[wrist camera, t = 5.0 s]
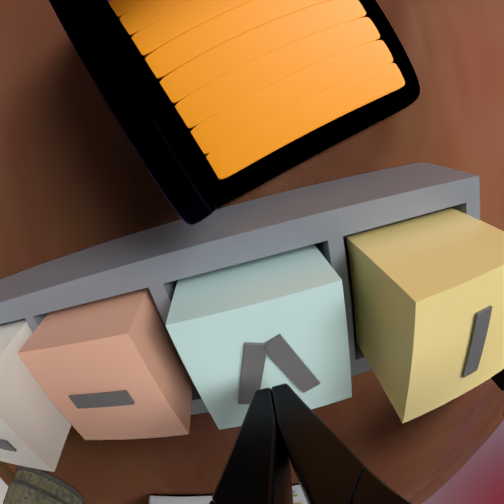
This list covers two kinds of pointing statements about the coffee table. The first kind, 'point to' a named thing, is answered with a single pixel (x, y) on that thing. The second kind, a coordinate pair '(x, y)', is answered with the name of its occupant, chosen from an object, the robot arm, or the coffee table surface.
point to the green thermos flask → (40, 489)
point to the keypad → (242, 244)
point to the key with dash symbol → (112, 369)
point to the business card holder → (237, 84)
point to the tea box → (298, 499)
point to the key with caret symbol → (263, 332)
